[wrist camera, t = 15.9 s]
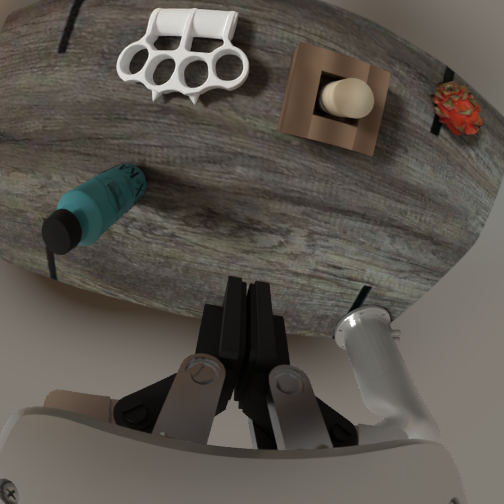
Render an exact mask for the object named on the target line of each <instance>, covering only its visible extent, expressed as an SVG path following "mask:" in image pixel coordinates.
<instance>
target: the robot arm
mask: <svg viewBox="0 0 504 504" xmlns="http://www.w3.org/2000/svg"><path fill="white" fill-rule="evenodd" d="M246 286H247V283H246V282H242V278H238V277H233V276H229V277H228V282H227V286H226V291H225V296H224V301H223V306H222V307H221V306H215V305H210V304H205V306H204V311H203V316H202V321H201V327H200V332H199V336H198V342H197V347H196V352H195V354H193V355H190V356H188V357H187V358H185V359H184V360H183V362H182V363H181V365H180V368H179V370H178V372H177V373H175V374H173V375H171V376H169V377H167V378H165V379H163V380H161V381H159V382H157V383H154V384H152V385H150V386H148V387H146V388H143V389H141V390H139V391H137V392H135V393H132V394H130V395H128V396H125V397H123V398H122V399H120V400H116V399H111V398H110V397H109V396H99V395H92V394H85V393H78V392H72V391H66V390H54V391H52V392H50V393H49V394H48V395H47V396H46V399H45V401H44V406H43V407H40V406H35V407H26V408H22V409H20V410H18V411H17V412H15V413H14V414H13V415H12V416H11V417H10V418H9V420H8V421H7V423H6V424H5V426H4V427H3V429H2V431H1V433H0V504H467V500H466V495H465V491H464V487H463V484H462V480H461V477H460V474H459V471H458V469H457V466H456V463H455V461H454V459H453V457H452V455H451V453H450V452H449V450H448V449H447V448H446V447H445V446H444V445H442V444H440V443H438V441H439V438H440V429H439V426H438V424H437V422H436V420H435V418H434V416H433V415H432V413H431V412H430V410H429V409H428V407H427V405H426V404H425V402H424V400H423V399H422V397H421V395H420V393H419V391H418V389H417V387H416V385H415V383H414V381H413V379H412V377H411V375H410V373H409V370H408V368H407V366H406V364H405V362H404V360H403V358H402V355H401V353H400V351H399V349H398V347H397V345H399V343H400V338H399V337H392V336H399V335H400V333H401V332H400V330H392V329H391V327H390V315H389V314H388V312H387V311H386V309H384V308H383V307H381V306H377V305H367V306H363V307H360V308H357V309H355V310H353V311H351V312H350V313H348V314H347V315H346V316H345V317H344V318H342V319H341V321H340V322H339V323H338V325H337V327H336V329H335V333H334V337H335V340H336V343H337V344H338V346H339V347H341V348H342V349H345V350H347V353H348V355H349V359H350V362H351V365H352V368H353V371H354V374H355V377H356V380H357V383H358V387H359V390H360V393H361V396H362V400H363V402H364V405H365V406H366V407H367V409H368V410H370V411H371V412H373V413H375V414H377V415H379V416H381V417H384V420H382V421H381V422H379V423H377V424H375V425H364V424H358V425H357V426H354V425H353V424H352V423H351V422H350V421H349V420H347V419H346V418H344V417H343V416H342V415H340V414H339V413H338V412H336V411H335V410H333V409H332V408H331V407H329V406H328V405H327V404H325V403H324V402H323V401H321V400H320V399H319V398H317V397H316V396H315V394H314V392H313V389H312V386H311V383H310V381H309V378H308V376H307V375H306V374H305V373H304V372H303V371H302V370H301V369H299V368H298V367H295V366H292V365H290V361H289V353H288V346H287V339H286V331H285V324H284V319H283V317H282V316H276V315H273V314H272V304H271V294H270V285H269V283H266V282H261V281H255V284H252V283H250V285H249V289H248V293H247V297H246ZM233 390H234V401H239V409H243V413H245V414H246V415H247V416H248V417H249V418H248V424H249V429H250V435H251V440H252V445H253V449H243V448H231V447H222V446H213V445H207V441H208V437H209V434H210V430H211V427H212V423H213V419H214V417H215V416H216V415H218V414H219V413H221V412H222V411H224V410H225V409H226V406H227V403H228V400H230V399H231V396H232V393H233Z"/></svg>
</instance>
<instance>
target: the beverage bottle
mask: <svg viewBox="0 0 504 504" xmlns="http://www.w3.org/2000/svg"><path fill="white" fill-rule="evenodd" d="M101 173H102V174H101ZM101 173H100V175H98V176H96V177H95V176H94V178H92V179H90V180H89V181H87V182H85V183H84V184H82V185H80V186H78V187H76V188H75V189H73V190H70V191H68V192H67V193H65V194H64V195H63V196H62V197H61V199H60V200H59V203H58V206H57V210H56V211H55V212H53V213H52V214H51V215H50V216H49V217H48V218H47V219H46V220H45V221H44V223H43V226H42V236H43V239H44V242H45V244H46V245H47V247H48V248H49V249H50V250H51V251H52V252H54V253H56V254H59V255H64V254H66V253H68V252H69V251H70V250H72V249H73V248H75V247H76V246H77V245H83V246H86V245H90V244H93V243H94V242H95V241H97V240H98V238H99V237H100V236H101V235H102V234H103V233H104V232H105V231H106V230H107V229H108V228H109V227H110V226H111V225H113V224H114V223H115V222H116V221H117V220H118V219H120V217H121V216H123V214H124V213H125V212H126V213H127V212H128V211H129V210H130V209H131V207H133V206H135V205H136V203H137V202H139V200H140V199H142V196H143V194H144V192H145V191H146V190H145V189H146V180H145V176H144V174H143V172H142V171H141V170H140V169H139V168H138V167H136V166H135V165H133V164H130V163H129V164H125V163H124V164H120V165H117V166H115V167H113V168H110V170H109V169H108V171H107V170H106V172H105V171H104V173H103V172H101ZM134 204H135V205H134ZM116 223H117V222H116Z"/></svg>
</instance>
